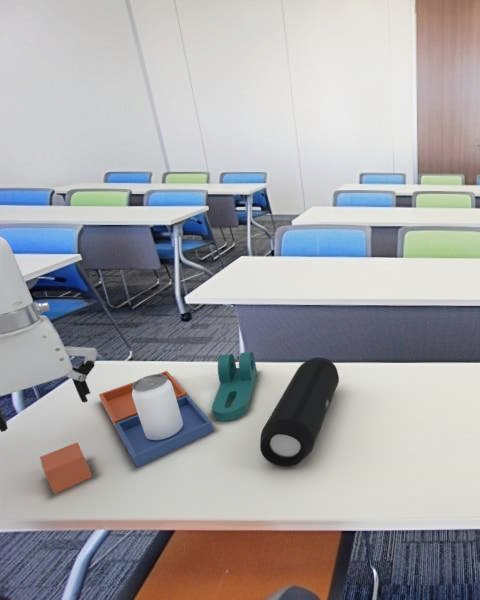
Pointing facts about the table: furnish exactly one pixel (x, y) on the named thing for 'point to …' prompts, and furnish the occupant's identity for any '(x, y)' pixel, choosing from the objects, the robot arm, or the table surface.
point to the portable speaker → (299, 413)
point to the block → (65, 467)
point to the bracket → (234, 386)
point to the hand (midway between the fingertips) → (45, 412)
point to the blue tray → (150, 449)
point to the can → (157, 407)
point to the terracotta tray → (129, 400)
